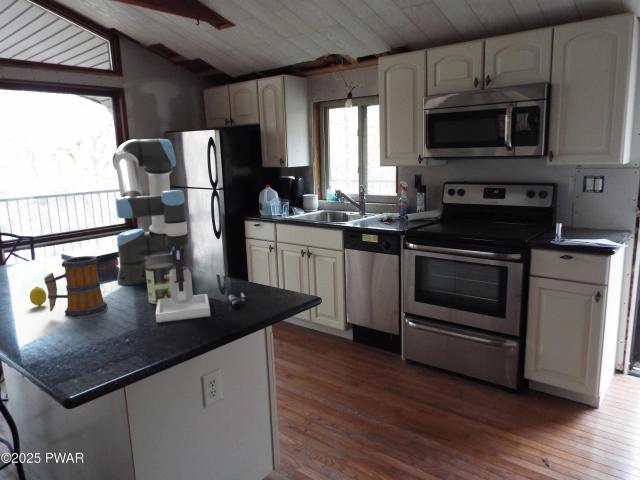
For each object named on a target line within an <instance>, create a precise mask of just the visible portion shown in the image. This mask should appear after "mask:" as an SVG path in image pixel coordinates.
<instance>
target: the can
mask: <svg viewBox="0 0 640 480" xmlns="http://www.w3.org/2000/svg"><path fill="white" fill-rule="evenodd" d="M183 274H184V280H185V291H186V300H178V292H177V283H175V281H176V279H177V278H176V267H173V269H171V273H170V274H169V278H170V288H171V299H172V301H174V302H175V303H186V302H189V301H191V299H192V298H193V295H194V294H193V293H194V292H193V291H194V290H193V281H192V272H191V271H190V270H189V267H185V266H183ZM178 279H179V278H178Z"/></svg>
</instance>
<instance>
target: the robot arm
mask: <svg viewBox="0 0 640 480" xmlns="http://www.w3.org/2000/svg"><path fill="white" fill-rule="evenodd" d="M112 165H113V168H114V169H115V171H116V174H117V179H118V187H119V192H120V194H119V195H120V197H117V198H116V199H115V205H116V213H117V217H118V218H119V219H138V218H145V217H146V218H147V217H151V225H149V227H148V231H145V230H144V229H143V228H135V229H129V230H126V231H123V232H121V233H118V235H117V236H116V240H117V243H116V246H117V249H118V261H119V269H118V274H117V278H116V280H117V284H118V285H120V286H121V285H122V286H135V285H140V284H147V278H146V269H145V266H147V265H149V264H148V259H147V258H149V257H151V258H152V257H158V256H159V257H160V256H169V255H172V258H173V263H174V264H175V265H174V266H175V267H174V268H176V278H177V279H176V281H175V283H177V292H178V300H186V291H185V280H184V274H183V267H184V263H185V249H184V248H183V247H185V246H186V245H188V244H189V237H188V234H187V233H188V225H187V224H188V222H187V218H186V217H187V216H186V203H185V202H186V198H185V193H184V191H183V190H181V189H171V184H170V182H171V181H170V174H171V173H172V172H173V167H176V165H177V160H176V154H175V151H174V146H173V143H172V141H171V140H170V139H168V138H147V139H130V140H127V141H125V142H123V143H122V144H120V145H119V146H118V147H117V148H116V150H115V151H114V153H113V156H112ZM138 168H142V169H143V170H144V173H146V174H147V175H148V184H149V185H148V186H149V189H148V190H149V195H143V191H142V186H141V182H140V177H139V176H140V175H139V171H138ZM178 278H179V279H178Z"/></svg>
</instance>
